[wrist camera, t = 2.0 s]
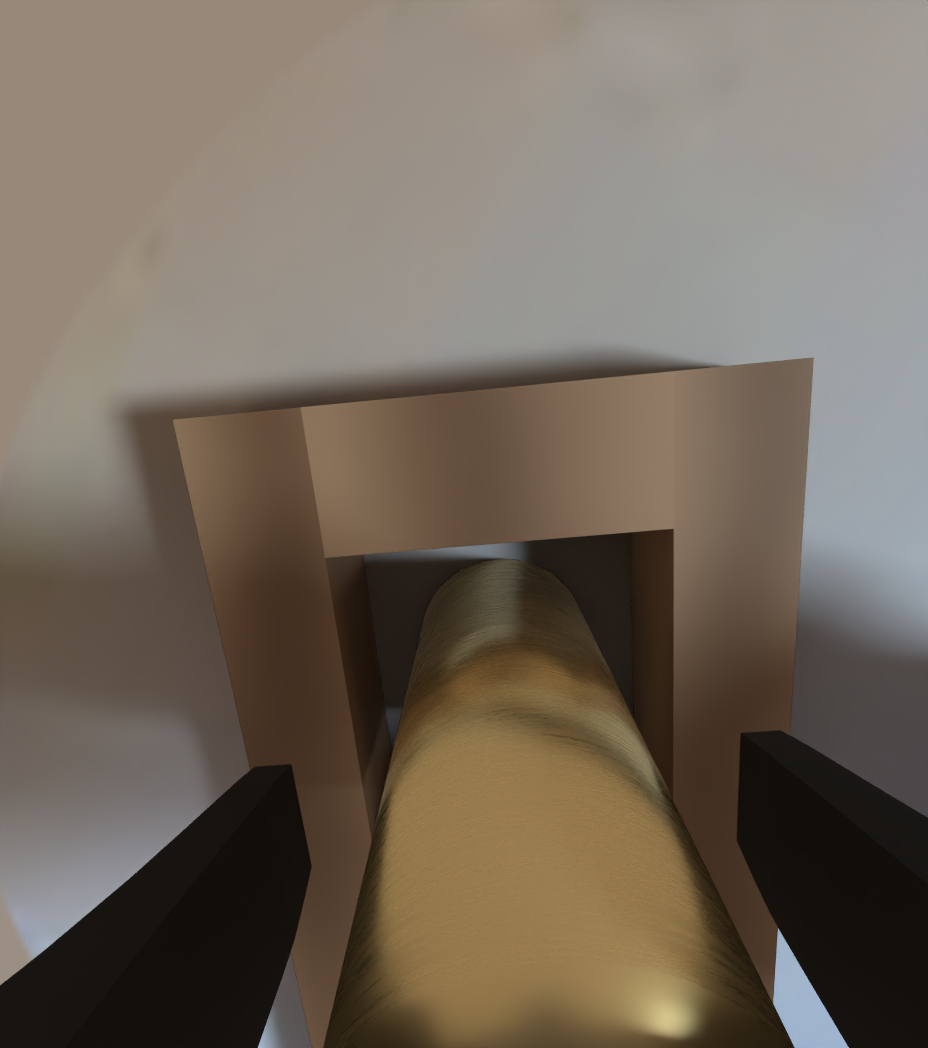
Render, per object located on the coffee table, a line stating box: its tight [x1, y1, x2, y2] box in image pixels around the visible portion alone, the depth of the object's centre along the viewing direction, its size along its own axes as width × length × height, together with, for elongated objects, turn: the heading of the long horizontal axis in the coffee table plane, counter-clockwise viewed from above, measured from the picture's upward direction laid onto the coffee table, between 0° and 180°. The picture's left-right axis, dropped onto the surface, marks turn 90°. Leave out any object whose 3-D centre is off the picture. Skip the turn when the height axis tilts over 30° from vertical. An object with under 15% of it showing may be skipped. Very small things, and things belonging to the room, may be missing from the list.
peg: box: [323, 559, 794, 1048], centre depth 9 cm, size 4×4×10 cm
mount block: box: [173, 358, 814, 1048], centre depth 14 cm, size 12×26×3 cm, turn 5°
